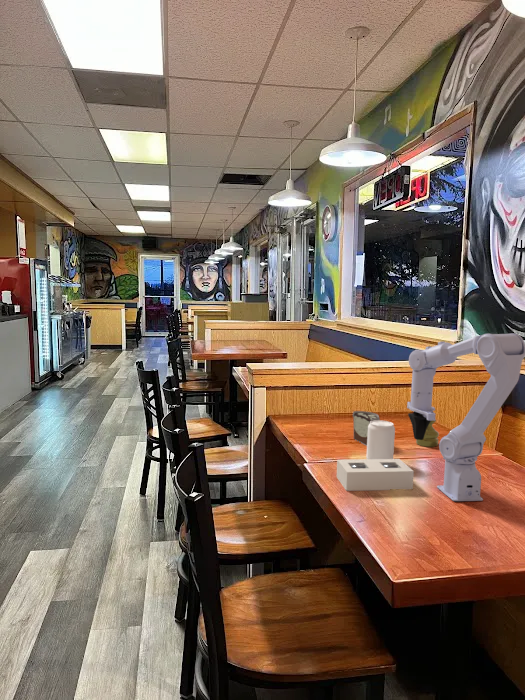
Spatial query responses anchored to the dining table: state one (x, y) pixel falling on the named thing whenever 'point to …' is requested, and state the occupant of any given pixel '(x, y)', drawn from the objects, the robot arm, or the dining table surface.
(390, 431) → the beverage can
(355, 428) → the food container
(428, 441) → the olive green tiered piece
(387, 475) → the bore block
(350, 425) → the dining table surface
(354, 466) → the peg
